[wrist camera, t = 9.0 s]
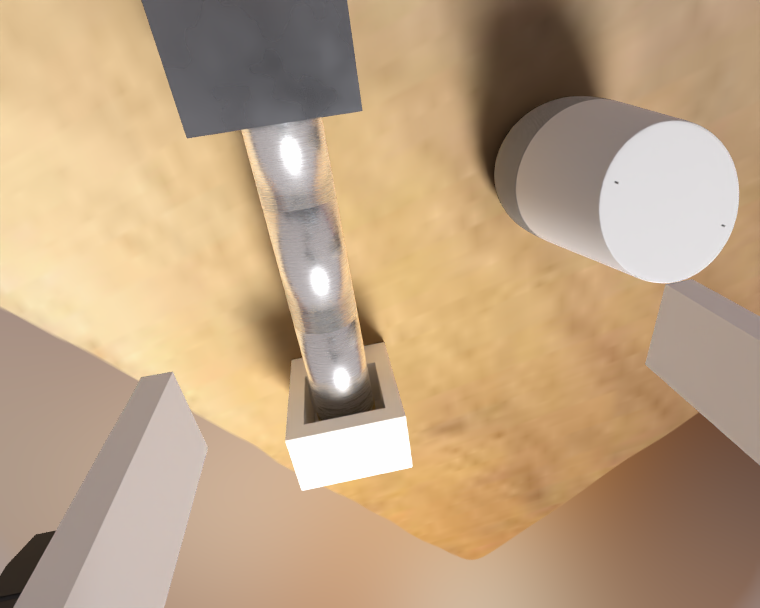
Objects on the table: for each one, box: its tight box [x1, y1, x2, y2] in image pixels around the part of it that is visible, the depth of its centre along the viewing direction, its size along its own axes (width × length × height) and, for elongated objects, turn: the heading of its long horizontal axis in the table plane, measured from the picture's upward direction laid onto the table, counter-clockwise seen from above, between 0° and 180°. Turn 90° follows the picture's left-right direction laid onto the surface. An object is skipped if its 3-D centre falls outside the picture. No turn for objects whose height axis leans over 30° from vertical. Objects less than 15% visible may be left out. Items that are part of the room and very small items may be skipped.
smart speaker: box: [494, 96, 739, 283], centre depth 25 cm, size 10×9×14 cm
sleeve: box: [142, 0, 362, 138], centre depth 22 cm, size 8×8×9 cm
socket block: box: [285, 342, 413, 491], centre depth 33 cm, size 5×8×10 cm, turn 98°
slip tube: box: [241, 117, 376, 421], centre depth 27 cm, size 26×4×4 cm, turn 8°
